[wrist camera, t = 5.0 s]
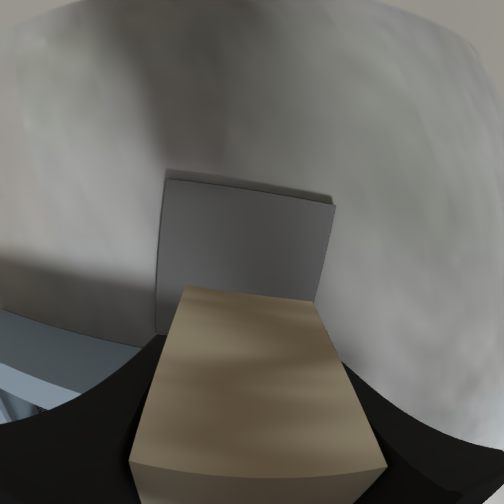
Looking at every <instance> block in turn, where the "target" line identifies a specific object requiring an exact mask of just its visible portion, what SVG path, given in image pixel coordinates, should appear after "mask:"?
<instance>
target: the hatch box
mask: <svg viewBox="0 0 504 504" xmlns="http://www.w3.org/2000/svg"><path fill="white" fill-rule="evenodd" d="M141 349H142V348H139V347H134V346H129V345H124V344H120V343H115V342H111V341H107V340H102V339H98V338H94V337H90V336H86V335H82V334H79V333H75V332H71V331H68V330H64V329H60V328H57V327H54V326H50V325H47V324H44V323H40V322H37V321H34V320H31V319H28V318H25V317H22V316H19V315H16V314H13V313H10V312H7V311H5V310H1V311H0V424H3V423H8V422H12V421H16V420H20V419H24V418H27V417H30V416H33V415H36V414H39V411H38V409H37V406H40V407H42V408H45V409H47V410H50V409H52V408H54V407H57V406H59V405H61V404H63V403H65V402H68V401H70V400H72V399H74V398H76V397H78V396H79V395H81V394H83V393H84V392H86V391H88V390H89V389H91V388H93V387H94V386H96V385H97V384H99V383H100V382H102V381H103V380H104V379H106V378H107V377H108V376H110V375H111V374H112V373H114V372H115V371H117V370H118V369H119V368H120V367H122V366H123V365H124V364H125V363H126V362H127V361H129V360H130V359H131V358H132V357H133V356H135V355H136V354H137V353H138V352H139V351H140V350H141ZM36 405H37V406H36Z"/></svg>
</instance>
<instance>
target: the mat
mask: <svg viewBox="0 0 504 504" xmlns="http://www.w3.org/2000/svg"><path fill="white" fill-rule="evenodd" d="M335 209H336V205H333V204H328V203H323V202H318V201H312V200H307V199H302V198H296V197H291V196H285V195H279V194H273V193H267V192H261V191H255V190H249V189H242V188H236V187H229V186H222V185H215V184H208V183H200V182H193V181H185V180H176V179H166V184H165V192H164V201H163V210H162V220H161V230H160V242H159V255H158V270H157V288H156V315H155V332H161V333H166V334H168V333H169V330H170V328H171V325H172V322H173V319H174V316H175V313H176V311H177V308H178V305H179V302H180V300H181V297H182V294H183V291H184V289H185V286H186V285H188V286H195V287H202V288H209V289H216V290H223V291H230V292H238V293H245V294H253V295H261V296H269V297H277V298H285V299H294V300H303V301H312V302H313V303H314V299H315V295H316V291H317V287H318V283H319V279H320V275H321V271H322V267H323V263H324V259H325V254H326V250H327V246H328V241H329V237H330V232H331V228H332V223H333V218H334V213H335Z"/></svg>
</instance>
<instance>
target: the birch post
mask: <svg viewBox="0 0 504 504" xmlns="http://www.w3.org/2000/svg"><path fill="white" fill-rule="evenodd" d="M129 464H130V468H131V471H132V475H133V478H134V481H135V485H136V488H137V491H138V494H139V497H140V500H141V503H142V504H353V503H354V502H355V501H356V500H357V499H358V498H359V497H360V496H361V495H362V494H363V493H364V492H365V491H366V490H367V489H368V488H369V487H370V486H371V485H372V484H373V483H374V482H375V480H376V479H377V478H378V477H379V476H380V475H381V474H382V473H383V472H384V470H385V469H386V468H387V467H388V466H387V464H386V461H385V459H384V457H383V454H382V452H381V450H380V447H379V445H378V443H377V440H376V438H375V436H374V433H373V431H372V429H371V427H370V424H369V422H368V420H367V417H366V415H365V413H364V411H363V409H362V406H361V404H360V402H359V400H358V397H357V395H356V393H355V391H354V389H353V386H352V384H351V382H350V380H349V378H348V376H347V373H346V371H345V369H344V367H343V365H342V363H341V360H340V358H339V356H338V354H337V352H336V350H335V348H334V346H333V344H332V341H331V339H330V337H329V335H328V333H327V331H326V329H325V327H324V325H323V323H322V321H321V318H320V316H319V314H318V312H317V310H316V308H315V306H314V304H313V302H312V301H303V300H294V299H285V298H277V297H269V296H261V295H253V294H245V293H238V292H230V291H223V290H216V289H209V288H202V287H195V286H188V285H186V286H185V289H184V291H183V294H182V297H181V300H180V302H179V305H178V308H177V311H176V313H175V316H174V319H173V322H172V325H171V328H170V330H169V333H168V336H167V339H166V342H165V345H164V348H163V351H162V354H161V357H160V360H159V363H158V366H157V369H156V372H155V375H154V378H153V381H152V384H151V387H150V390H149V393H148V397H147V400H146V403H145V406H144V409H143V413H142V416H141V419H140V423H139V426H138V429H137V433H136V436H135V440H134V443H133V447H132V450H131V454H130V457H129Z"/></svg>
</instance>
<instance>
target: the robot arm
mask: <svg viewBox="0 0 504 504" xmlns="http://www.w3.org/2000/svg"><path fill="white" fill-rule="evenodd" d="M166 339H167V336H166V335H160V334H158V335H156V336H155V337H154V338H153V339H152V340H151V341H150V342H148V343H147V344H146V345H145V346H144V347H143V348H142V349H141V350H140V351H139V352H138V353H137V354H136V355H135V356H133V357H132V358H131V359H130V360H129V361H127V362H126V363H125V364H124V365H123V366H122V367H120V368H119V369H118V370H117V371H115V372H114V373H112V374H111V375H110V376H108V377H107V378H106V379H104V380H103V381H102V382H100V383H99V384H97V385H96V386H94V387H93V388H91V389H89V390H88V391H86V392H84V393H83V394H81V395H79V396H78V397H76V398H74V399H72V400H70V401H68V402H65V403H63V404H61V405H59V406H57V407H54V408H52V409H50V410H47V411H45V412H42V413H39V414H36V415H33V416H30V417H27V418H24V419H20V420H16V421H12V422H8V423H3V424H0V504H142V503H141V500H140V497H139V494H138V491H137V488H136V485H135V481H134V478H133V475H132V471H131V468H130V464H129V457H130V454H131V450H132V447H133V443H134V440H135V436H136V433H137V429H138V426H139V423H140V419H141V416H142V413H143V409H144V406H145V403H146V400H147V397H148V393H149V390H150V387H151V384H152V381H153V378H154V375H155V372H156V369H157V366H158V363H159V360H160V357H161V354H162V351H163V348H164V345H165V342H166ZM341 363H342V365H343V367H344V369H345V371H346V373H347V376H348V378H349V380H350V382H351V384H352V386H353V389H354V391H355V393H356V395H357V397H358V400H359V402H360V404H361V406H362V409H363V411H364V413H365V415H366V417H367V420H368V422H369V424H370V427H371V429H372V431H373V433H374V436H375V438H376V440H377V443H378V445H379V447H380V450H381V452H382V454H383V457H384V459H385V461H386V464H387V466H388V467H387V468H386V469H385V470H384V472H383V473H382V474H381V475H380V476H379V477H378V478H377V479H376V480H375V482H374V483H373V484H372V485H371V486H370V487H369V488H368V489H367V490H366V491H365V492H364V493H363V494H362V495H361V496H360V497H359V498H358V499H357V500H356V501H355V502H354V503H353V504H483V503H484V502H485V501H486V500H487V499H488V498H489V497H490V496H492V495H493V493H495V492H496V491H497V490H498V489H499V488H500V487H501V486H502V485H503V484H504V452H503V451H502V450H499V449H494V448H489V447H484V446H480V445H476V444H472V443H469V442H466V441H463V440H460V439H457V438H454V437H452V436H449V435H447V434H444V433H442V432H440V431H438V430H436V429H434V428H431V427H429V426H427V425H426V424H424V423H422V422H420V421H418V420H417V419H415V418H413V417H412V416H410V415H408V414H407V413H405V412H403V411H402V410H400V409H399V408H398V407H396V406H395V405H393V404H392V403H391V402H389V401H388V400H387V399H385V398H384V397H383V396H381V395H380V394H379V393H378V392H376V391H375V390H374V389H373V388H371V387H370V386H369V385H368V384H367V383H366V382H364V381H363V380H362V379H361V378H360V377H359V376H358V375H356V374H355V373H354V372H353V371H352V370H351V369H350V368H349V367H348V366H346V365H345V364H344V363H343V362H342V361H341Z"/></svg>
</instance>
